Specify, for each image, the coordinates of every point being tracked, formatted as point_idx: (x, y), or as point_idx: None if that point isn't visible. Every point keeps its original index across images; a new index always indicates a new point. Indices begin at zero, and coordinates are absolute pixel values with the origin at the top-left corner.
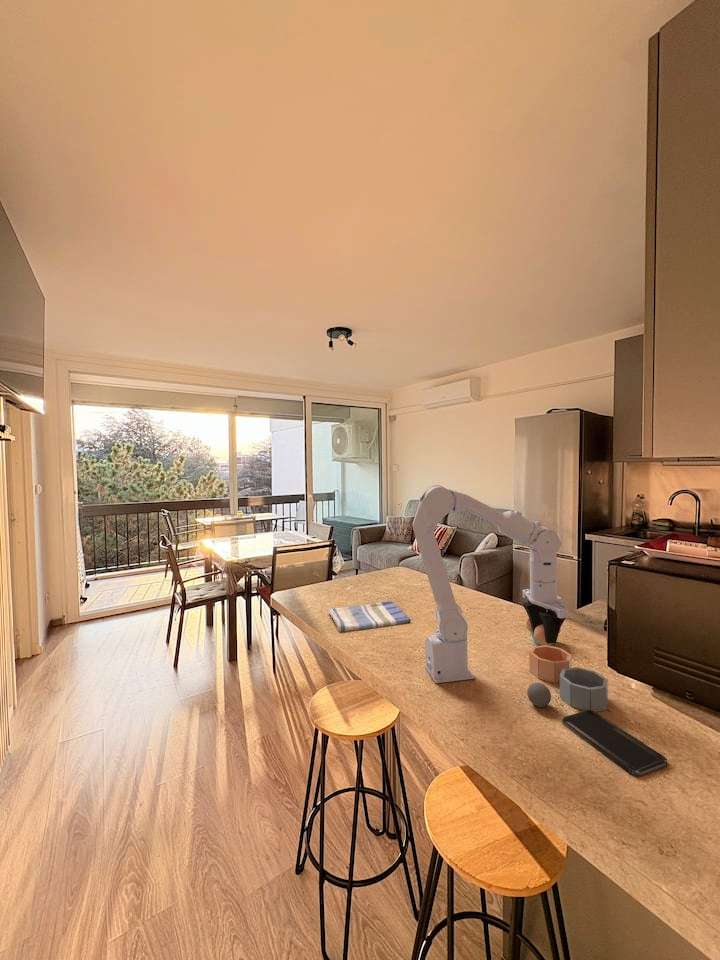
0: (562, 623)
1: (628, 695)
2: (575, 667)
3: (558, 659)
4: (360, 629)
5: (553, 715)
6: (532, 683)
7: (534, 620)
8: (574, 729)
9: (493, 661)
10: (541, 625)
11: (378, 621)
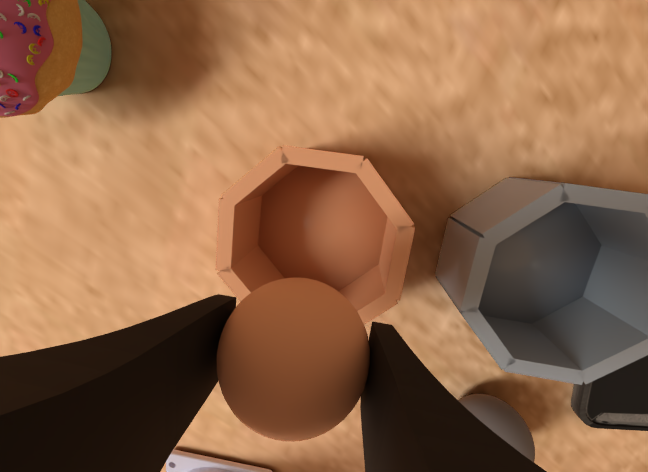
0: (516, 454)
1: (593, 63)
2: (479, 246)
3: (291, 167)
4: None
5: (534, 408)
6: None
7: (168, 433)
8: (641, 430)
9: None
10: (266, 426)
11: None
